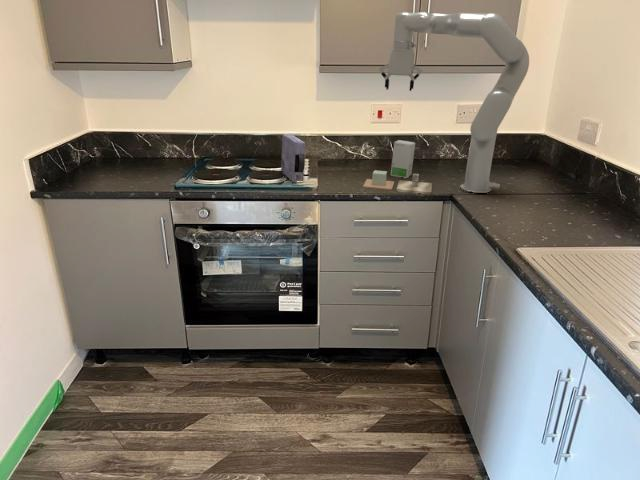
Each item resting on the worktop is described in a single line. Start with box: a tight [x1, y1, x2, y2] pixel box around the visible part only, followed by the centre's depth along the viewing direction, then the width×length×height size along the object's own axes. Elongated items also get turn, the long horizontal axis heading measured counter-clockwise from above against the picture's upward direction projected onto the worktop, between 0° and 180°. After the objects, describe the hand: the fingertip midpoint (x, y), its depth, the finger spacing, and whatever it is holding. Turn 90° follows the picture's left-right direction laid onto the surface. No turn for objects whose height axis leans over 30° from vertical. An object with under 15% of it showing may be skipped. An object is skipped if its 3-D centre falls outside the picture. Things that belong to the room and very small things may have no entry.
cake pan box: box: [280, 133, 306, 183], centre depth 215 cm, size 19×5×18 cm, turn 22°
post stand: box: [395, 173, 433, 196], centre depth 207 cm, size 14×14×6 cm
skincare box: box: [390, 139, 416, 179], centre depth 224 cm, size 8×7×16 cm
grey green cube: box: [372, 169, 388, 186], centre depth 210 cm, size 5×5×5 cm
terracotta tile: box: [362, 178, 395, 191], centre depth 211 cm, size 12×12×1 cm
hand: (398, 89), depth 207 cm, fingers open, 9 cm apart
